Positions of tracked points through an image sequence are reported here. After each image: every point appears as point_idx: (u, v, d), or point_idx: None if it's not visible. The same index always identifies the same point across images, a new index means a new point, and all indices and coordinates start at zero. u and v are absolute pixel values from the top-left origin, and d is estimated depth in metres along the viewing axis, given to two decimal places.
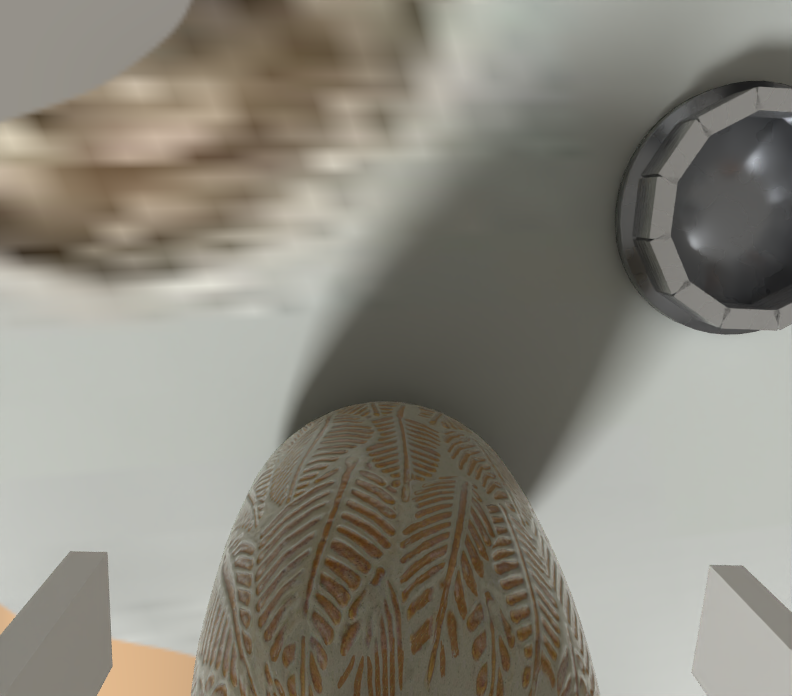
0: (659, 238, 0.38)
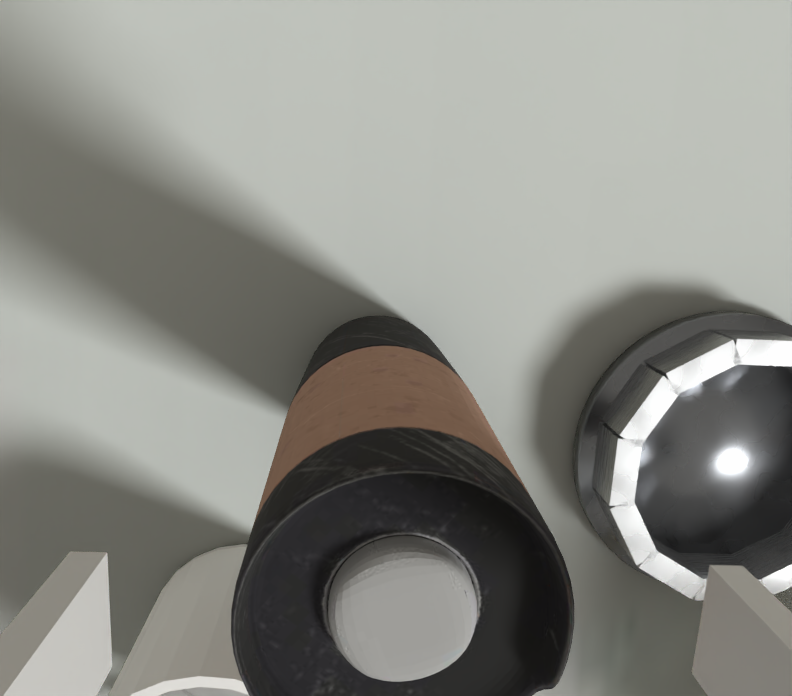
0: None
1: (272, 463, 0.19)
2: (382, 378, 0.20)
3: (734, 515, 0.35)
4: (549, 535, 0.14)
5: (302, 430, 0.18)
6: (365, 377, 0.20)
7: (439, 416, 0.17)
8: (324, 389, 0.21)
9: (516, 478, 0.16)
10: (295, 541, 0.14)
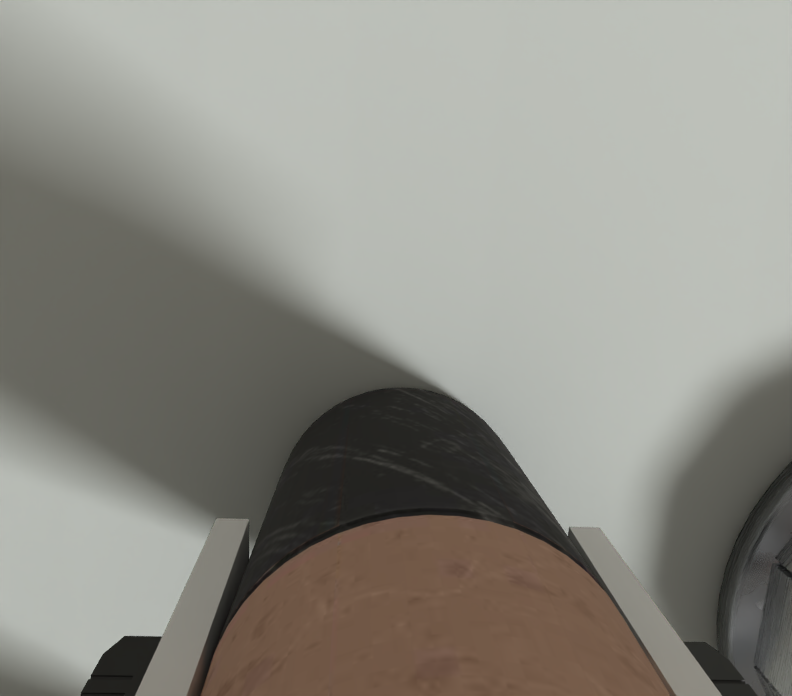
0: None
1: None
2: None
3: None
4: None
5: None
6: None
7: None
8: None
9: None
10: None
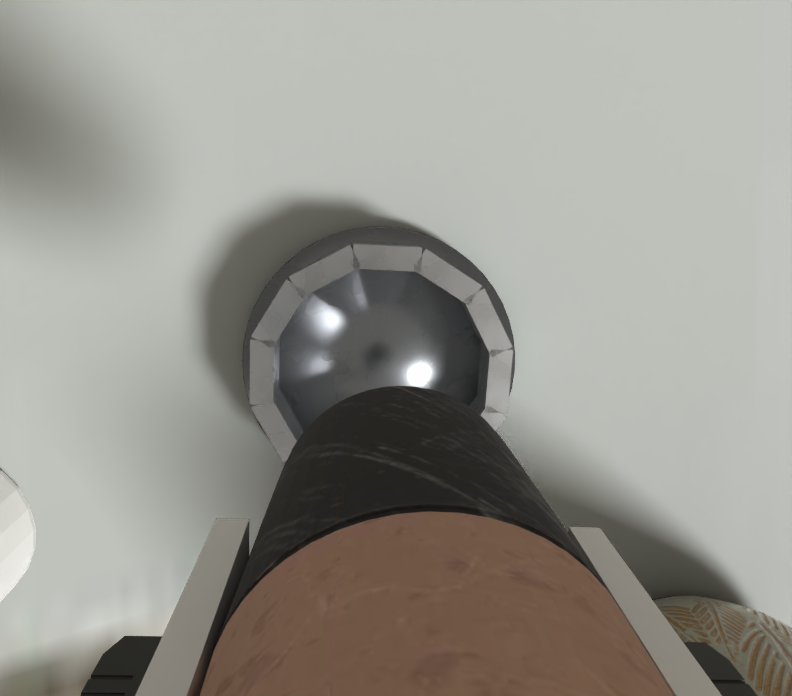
0: None
1: None
2: None
3: None
4: None
5: None
6: None
7: None
8: None
9: None
10: None
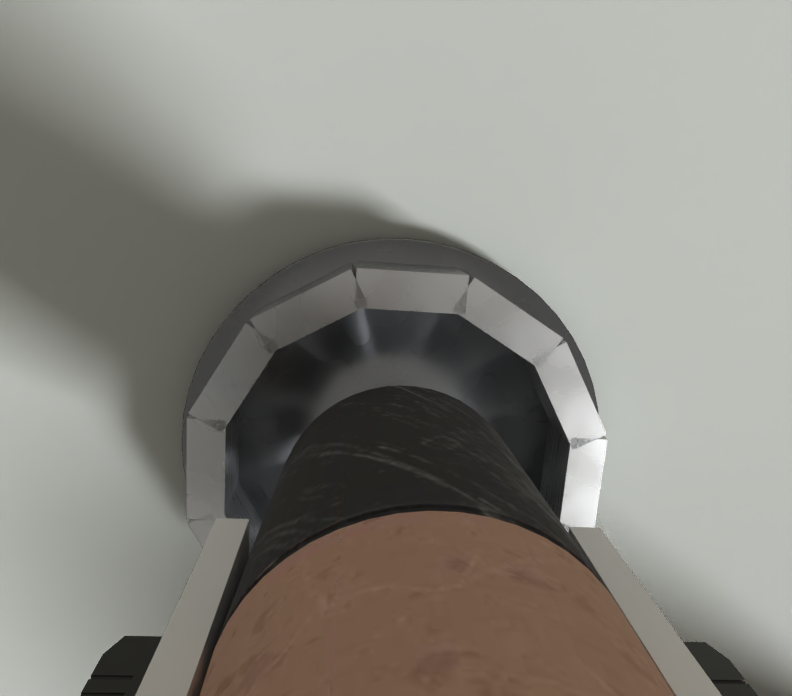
0: None
1: None
2: None
3: None
4: None
5: None
6: None
7: None
8: None
9: None
10: None
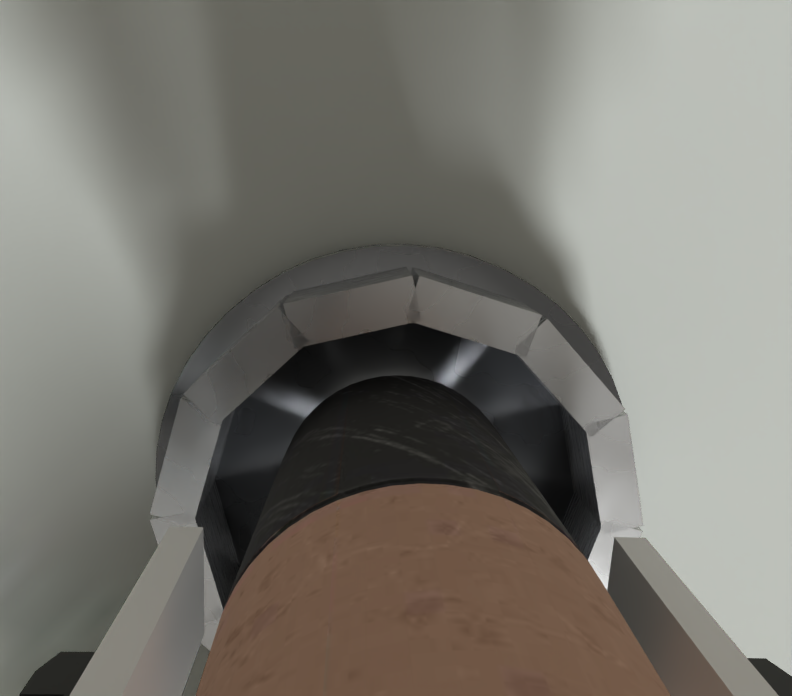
0: None
1: None
2: (435, 659, 0.07)
3: None
4: None
5: None
6: (387, 644, 0.08)
7: None
8: (281, 656, 0.08)
9: None
10: None
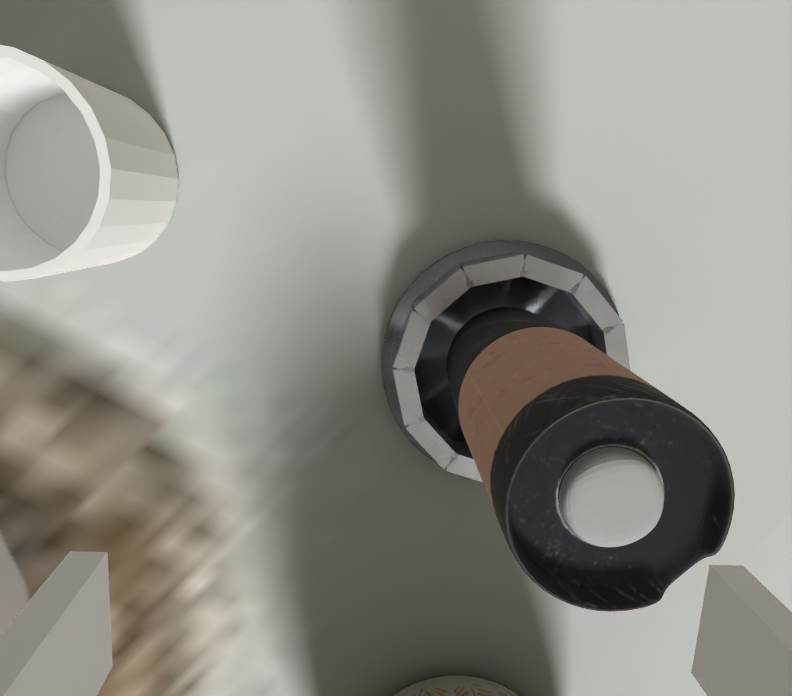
0: (450, 462, 0.39)
1: (483, 407, 0.26)
2: (563, 347, 0.27)
3: None
4: (720, 445, 0.21)
5: (515, 381, 0.25)
6: (548, 347, 0.27)
7: (623, 371, 0.24)
8: (513, 355, 0.28)
9: None
10: (542, 447, 0.21)
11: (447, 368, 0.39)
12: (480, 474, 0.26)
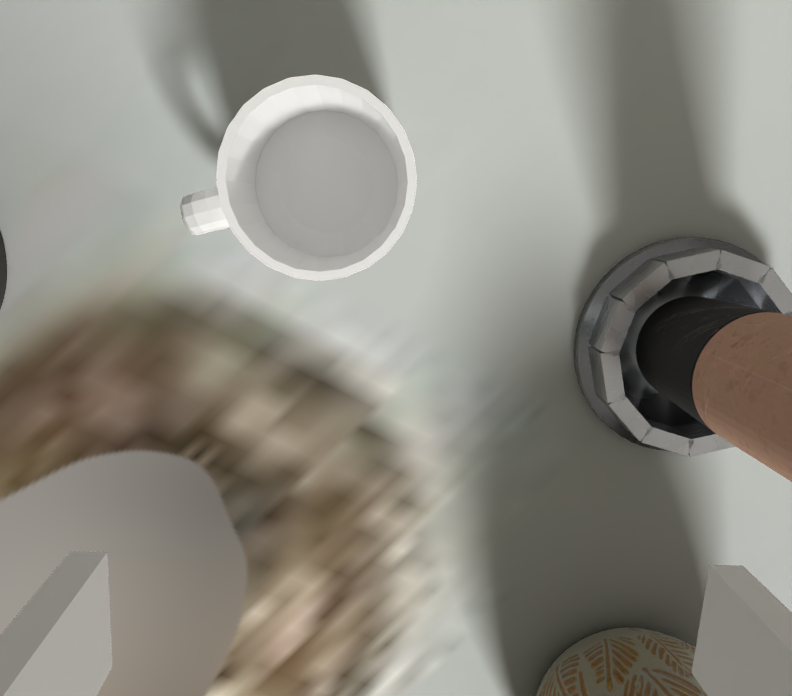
0: (646, 435, 0.44)
1: (757, 379, 0.31)
2: None
3: None
4: None
5: None
6: None
7: None
8: (770, 336, 0.33)
9: None
10: None
11: (642, 351, 0.44)
12: (756, 435, 0.31)
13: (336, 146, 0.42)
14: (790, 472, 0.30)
